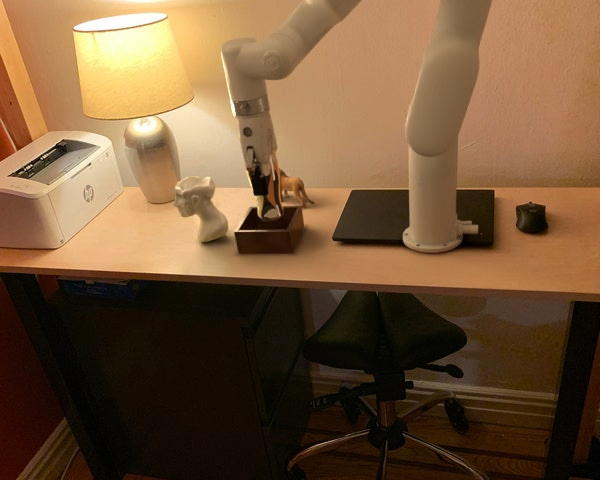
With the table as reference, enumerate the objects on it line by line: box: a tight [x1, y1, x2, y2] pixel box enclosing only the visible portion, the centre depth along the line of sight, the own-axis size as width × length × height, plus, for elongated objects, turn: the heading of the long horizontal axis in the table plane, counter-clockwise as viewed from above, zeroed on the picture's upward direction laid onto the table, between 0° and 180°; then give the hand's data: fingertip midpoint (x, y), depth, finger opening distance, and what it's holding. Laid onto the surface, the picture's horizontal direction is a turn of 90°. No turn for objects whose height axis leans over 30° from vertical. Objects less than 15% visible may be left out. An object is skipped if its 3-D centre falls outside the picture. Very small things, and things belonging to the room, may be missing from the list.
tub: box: [233, 205, 305, 255], centre depth 134 cm, size 13×13×6 cm
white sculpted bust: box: [172, 175, 229, 243], centre depth 136 cm, size 10×11×15 cm
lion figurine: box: [279, 167, 316, 209], centre depth 150 cm, size 15×5×9 cm, turn 55°
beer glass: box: [244, 147, 285, 221], centre depth 128 cm, size 7×7×15 cm
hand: (265, 186), depth 129 cm, fingers closed on beer glass, 7 cm apart
